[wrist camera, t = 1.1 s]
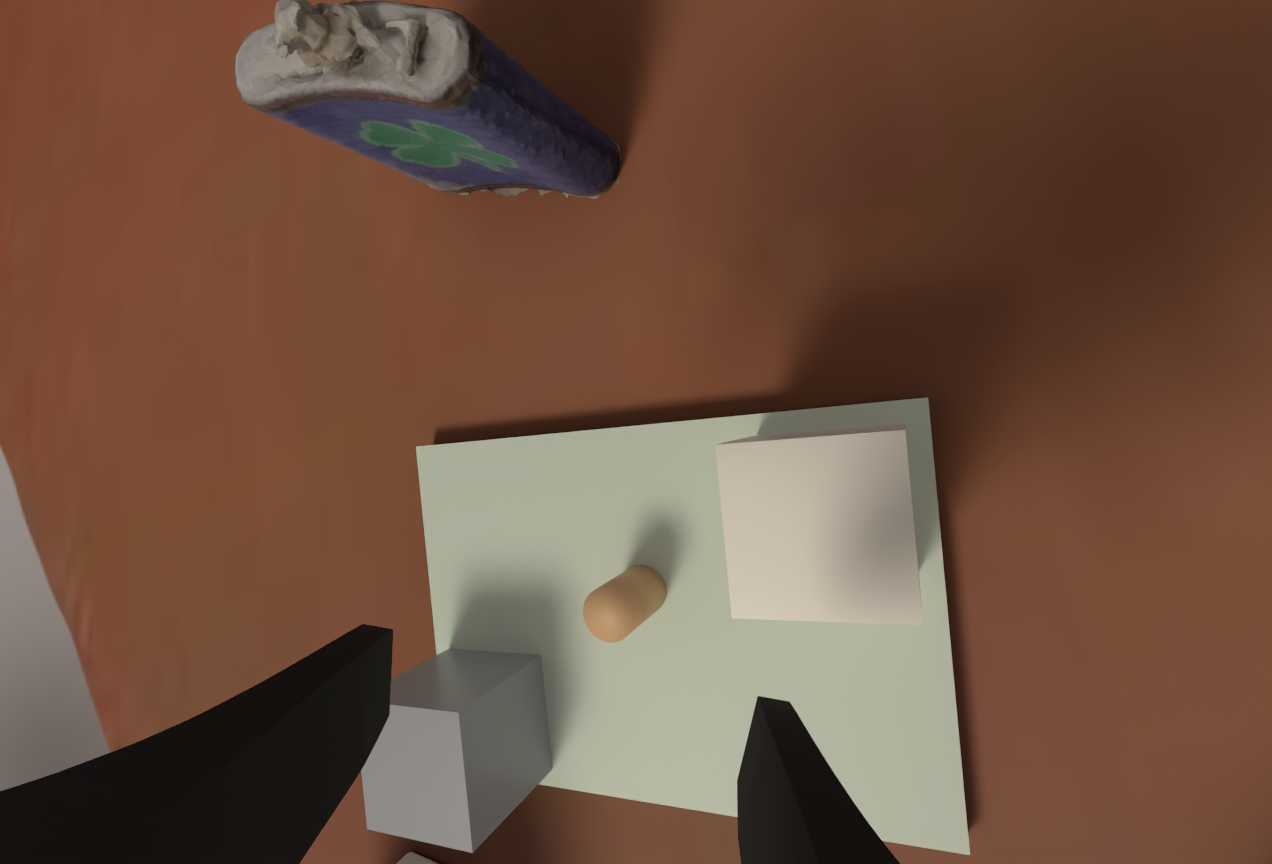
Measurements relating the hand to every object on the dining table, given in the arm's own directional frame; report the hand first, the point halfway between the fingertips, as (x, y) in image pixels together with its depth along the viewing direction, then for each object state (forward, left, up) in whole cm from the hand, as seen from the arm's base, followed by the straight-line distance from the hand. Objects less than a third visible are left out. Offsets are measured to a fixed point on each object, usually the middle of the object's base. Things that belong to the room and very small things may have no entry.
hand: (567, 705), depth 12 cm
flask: (+7, -16, -12) cm, 21 cm away
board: (+3, +2, -12) cm, 12 cm away
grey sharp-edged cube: (+10, +6, -11) cm, 16 cm away
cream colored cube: (-4, -2, -11) cm, 12 cm away
